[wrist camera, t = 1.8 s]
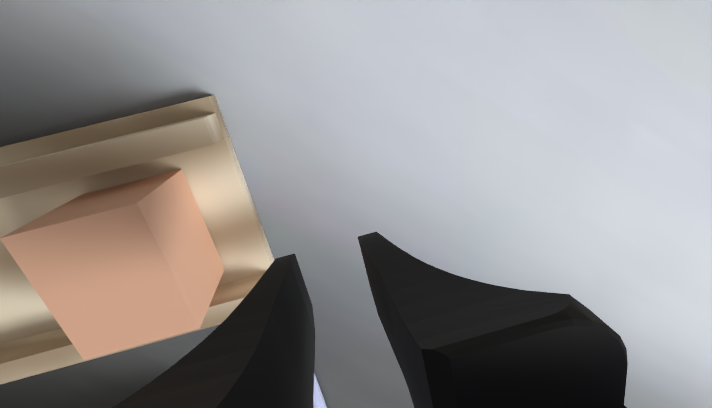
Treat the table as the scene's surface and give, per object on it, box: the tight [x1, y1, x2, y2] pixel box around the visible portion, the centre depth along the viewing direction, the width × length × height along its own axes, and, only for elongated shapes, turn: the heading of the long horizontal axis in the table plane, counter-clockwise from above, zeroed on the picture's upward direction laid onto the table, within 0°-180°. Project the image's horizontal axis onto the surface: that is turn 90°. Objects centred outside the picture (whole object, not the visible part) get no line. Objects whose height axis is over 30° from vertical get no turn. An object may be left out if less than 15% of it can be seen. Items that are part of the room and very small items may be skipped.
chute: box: [0, 95, 274, 384], centre depth 18 cm, size 12×24×3 cm, turn 103°
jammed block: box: [0, 169, 225, 360], centre depth 16 cm, size 6×5×5 cm
